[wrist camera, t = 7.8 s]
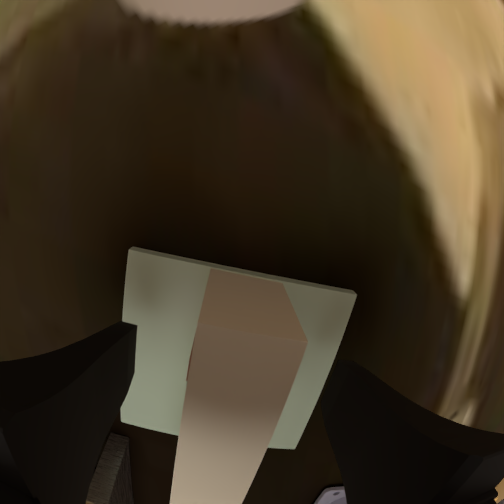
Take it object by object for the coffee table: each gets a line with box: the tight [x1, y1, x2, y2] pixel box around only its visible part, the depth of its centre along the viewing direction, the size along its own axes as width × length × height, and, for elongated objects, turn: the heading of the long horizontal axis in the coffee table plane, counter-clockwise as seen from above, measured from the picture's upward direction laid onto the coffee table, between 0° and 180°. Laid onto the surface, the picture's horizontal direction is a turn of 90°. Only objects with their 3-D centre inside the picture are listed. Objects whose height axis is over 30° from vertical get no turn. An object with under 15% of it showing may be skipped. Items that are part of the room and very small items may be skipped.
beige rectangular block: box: [170, 268, 308, 504], centre depth 12 cm, size 3×10×5 cm, turn 167°
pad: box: [121, 247, 357, 449], centre depth 14 cm, size 10×10×1 cm
